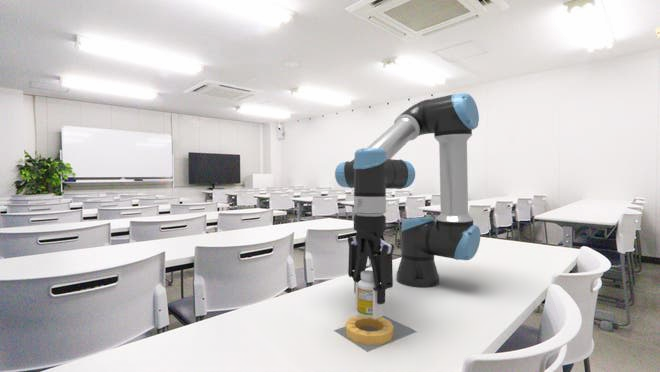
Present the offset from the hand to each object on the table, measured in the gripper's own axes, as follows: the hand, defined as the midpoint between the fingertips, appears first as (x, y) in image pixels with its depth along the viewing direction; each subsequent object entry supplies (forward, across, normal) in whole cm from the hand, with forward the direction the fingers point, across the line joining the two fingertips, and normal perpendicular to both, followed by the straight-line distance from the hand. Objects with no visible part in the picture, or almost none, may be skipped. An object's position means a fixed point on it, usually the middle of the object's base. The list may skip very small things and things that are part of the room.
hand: (369, 312), depth 77 cm
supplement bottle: (+1, 0, 0) cm, 1 cm away
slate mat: (+6, 0, +2) cm, 6 cm away
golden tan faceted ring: (+5, 0, 0) cm, 5 cm away
